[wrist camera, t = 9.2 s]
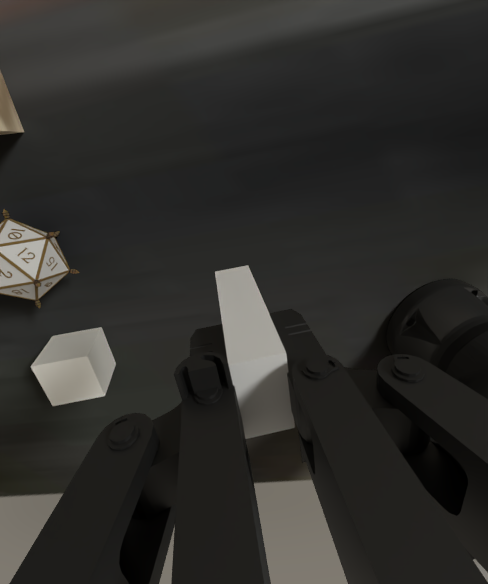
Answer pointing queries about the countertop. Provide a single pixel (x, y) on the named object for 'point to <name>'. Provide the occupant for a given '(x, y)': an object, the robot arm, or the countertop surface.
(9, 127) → the birch block
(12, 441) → the countertop surface
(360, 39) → the countertop surface
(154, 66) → the countertop surface
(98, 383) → the off-white block
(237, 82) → the countertop surface
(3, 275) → the game die
